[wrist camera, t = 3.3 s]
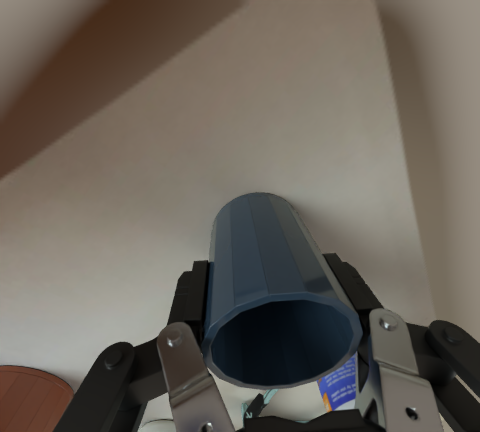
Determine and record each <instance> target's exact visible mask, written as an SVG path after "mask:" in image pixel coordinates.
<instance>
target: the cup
mask: <svg viewBox="0 0 480 432" xmlns="http://www.w3.org/2000/svg"><path fill="white" fill-rule="evenodd" d="M138 432H176V428H175V424H174V421H169V420H158V421H152V422H149V423H147V424H145V425H144V426H143V427H142V428H141V429H140V430H139V431H138Z"/></svg>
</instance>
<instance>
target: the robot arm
mask: <svg viewBox="0 0 480 432" xmlns="http://www.w3.org/2000/svg"><path fill="white" fill-rule="evenodd" d="M322 255H323V256H324V258H325V260H326V261H327V263H328V265H329V266H330V268H331V270H332V271H333V273H334V275H335V277H336V278H337V280H338V282H339V283H340V285H341V287H342V288H343V290H344V292H345V293H346V295H347V297H348V298H349V300H350V302H351V303H352V305H353V307H354V308H355V310H356V312H357V313H358V315H359V319H360V323H361V326H362V330H363V336H362V339H361V342H360V344H359V347H358V349H357V352H356V353H355V384H356V399H355V406H354V409H346V410H335V411H330V412H327V413H325V414H323V415H321V416H319V417H317V418H315V419H313V420H311V421H309V422H306V423H301V422H296V421H292V420H288V419H284V418H280V417H276V416H264V417H253V418H244V425H245V427H243V428H241V429H239V430H237V431H235V428H234V426H233V424H232V421H231V419H230V416H229V414H228V412H227V409H226V407H225V404H224V402H223V400H222V397H221V395H220V392H219V390H218V388H217V385H216V383H215V380H214V378H213V376H212V375H211V374H210V373H209V371H208V369H207V366H206V364H205V361H204V359H203V356H202V354H201V353H202V350H201V338H202V328H203V317H204V307H205V296H206V285H207V275H208V264H209V262H208V260H204V261H194V263H193V269H192V271H185V272H183V274H182V275H181V276H180V278H179V279H178V283H177V287H176V291H175V296H174V299H173V303H172V307H171V311H170V315H169V319H168V323H167V326H166V327H165V328H164V329H163V330H162V331H161V332H160V334H159V335H158V336H157V337H156V338H155V339H153V340H151V341H149V342H146V343H143V344H141V345H138V346H135V347H133V346H132V345H131V344H130V343H128V342H118V343H115V344H113V345H111V346H109V347H107V348H106V349H105V350H104V351H103V352H102V353H101V354H100V355H99V356H98V358H97V359H96V361H95V362H94V364H93V366H92V367H91V369H90V371H89V372H88V374H87V376H86V377H85V379H84V381H83V382H82V384H81V385H80V387H79V389H78V390H77V392H76V394H75V395H74V397H73V399H72V400H71V402H70V404H69V405H68V407H67V409H66V410H65V412H64V413H63V415H62V417H61V418H60V420H59V422H58V423H57V425H56V427H55V428H54V430H53V432H137V431H138V428H139V426H140V423H141V420H142V417H143V414H144V412H145V409H146V406H147V403H148V401H150V400H152V399H154V398H156V397H158V396H161V395H163V394H165V393H167V392H168V394H169V402H170V407H171V411H172V416H173V420H174V424H175V428H176V432H444V429H443V426H442V422H441V419H440V415H439V413H440V414H441V415H442V417H443V418H444V419H445V421H446V422H447V423H448V424H449V426H450V427H451V428H452V429H453V431H454V432H480V403H479V402H478V401H477V400H476V399H475V398H474V397H473V396H472V395H471V394H470V393H469V391H468V390H467V389H466V388H465V387H464V386H463V385H462V384H461V383H460V382H459V381H458V380H457V379H456V378H455V376H456V375H458V376H459V377H460V378H461V379H462V380H463V381H464V382H465V383H466V384H467V385H468V386H469V387H470V389H472V390H473V392H474V393H475V394H476V395H477V396H478V397H479V398H480V343H478V342H477V341H476V340H475V339H474V338H473V337H472V336H470V335H469V334H468V333H467V332H466V331H464V330H463V329H462V328H460V327H458V326H457V325H454V324H452V323H450V322H447V321H442V320H436V321H433V322H432V323H431V324H430V326H429V327H424V326H419V325H414V324H410V323H406V322H405V321H404V320H403V319H402V318H401V317H400V316H399V315H397V314H396V313H394V312H392V311H390V310H387V309H384V307H383V306H382V305H381V303H380V302H379V301H378V299H377V298H376V296H375V295H374V294H373V292H372V291H371V290H370V288H369V287H368V286H367V284H365V281H364V280H363V279H362V278H361V276H360V275H359V273H358V272H357V270H356V269H355V268H354V267H352V266H351V265H350V264H348V263H347V262H342V261H341V260H340V258H339V257H338V255H337V254H336V253H329V254H322Z"/></svg>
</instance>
